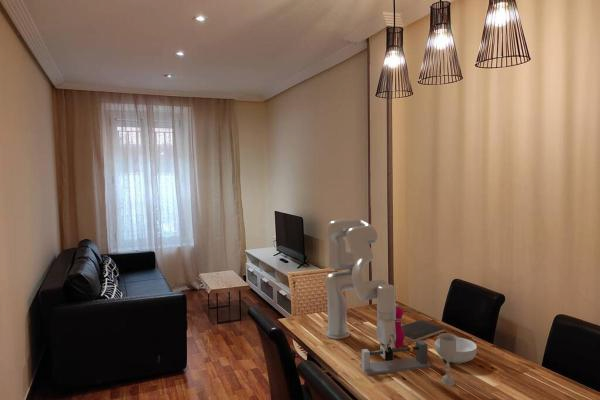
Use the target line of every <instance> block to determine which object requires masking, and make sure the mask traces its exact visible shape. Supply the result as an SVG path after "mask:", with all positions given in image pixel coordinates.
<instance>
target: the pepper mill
mask: <svg viewBox="0 0 600 400" xmlns="http://www.w3.org/2000/svg"><path fill="white" fill-rule="evenodd" d="M403 315H404V310H403V308H402V307H400V306H399V304H398V303H396V319H395V329H396V343H395V344H394V345H395V348H394V349H398V348H404V346H405V345H404V344H405V342H404V340H405V335H404V332H403V330H402V327H401V326H402V322H403ZM390 346H391V345H390Z"/></svg>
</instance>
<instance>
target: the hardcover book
mask: <svg viewBox="0 0 600 400" xmlns="http://www.w3.org/2000/svg"><path fill="white" fill-rule="evenodd" d="M401 327H402V330H403V332H404V335H405V339H406V340H408V341H410V342H413V343H414V342H415V343H416V341H419V340H424V339H426V338H429V337H432V336H435V335H439V334H441V333H443V332H444V333H445V329H446V328H445V327H442V326H439V325H437V324H434V323H432V322H428V321H426V320H423V319H419V320H415V321H412V322H409V323H407V324H403V325H402V324H401ZM405 339H404V340H405Z"/></svg>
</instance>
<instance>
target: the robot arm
mask: <svg viewBox="0 0 600 400" xmlns="http://www.w3.org/2000/svg"><path fill="white" fill-rule="evenodd" d="M326 236H327V239H328V268H329V269H330V270H331V271H337V272H332V273H329V274H327V275H326V277H325V278H324V279H325V280H324V285H325V288H326V296H327V297H326V298H327V299H326V300H327V329H326V330H325V331H324V335H325V336H326V337H327V338H328V339H333V340H343V339H346V338H349V337H350V335H351V332H350V330H349V329H348V322H347V315H348V314H347V312H348V311H347V310H348V309H347V298H346V297H345V296H346V295H344V294H343V292H345V291H351V290H354V291H355V294H356V295H357V297H358V298H359V299H360V300H362V301H368V300H373V299H376V319H377V320H376V338H377V340H379V342H380V343H379V346H380V345H386V351H385V359H384V361H391V360H394V353H393V349H396V348H395V345H394V344H395V343H396V329H395V319H396V304H397V303H396V287H395V286H394V285H392V284H389V283H388V282H386V281H385V280H382V279H375V280H369V281H364V280H363V277H362V269H363V267H364V266H366V265H367V264H368V263H370V262H372V260H374V254H373V250H372V249H371V247H370V245H371V244H374V243H376V242H377V240H378V232H377V230H376V228H375V227H374V225H372V224H371V223H368V222H367V221H366V220H365V221H364V219H361V218H343V219H341V218H340V219H334V220H331V221H330V222H329V223H328V224H327V226H326ZM345 238H346V240H347V241H346V240H345ZM346 242H348V245H349V247H350V248H349V249H347V244H346ZM343 270H345V271H343ZM388 345H391V346H390V347H388Z"/></svg>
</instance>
